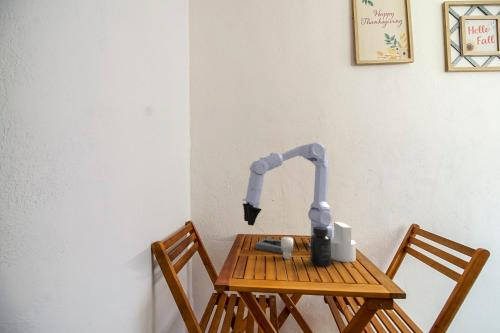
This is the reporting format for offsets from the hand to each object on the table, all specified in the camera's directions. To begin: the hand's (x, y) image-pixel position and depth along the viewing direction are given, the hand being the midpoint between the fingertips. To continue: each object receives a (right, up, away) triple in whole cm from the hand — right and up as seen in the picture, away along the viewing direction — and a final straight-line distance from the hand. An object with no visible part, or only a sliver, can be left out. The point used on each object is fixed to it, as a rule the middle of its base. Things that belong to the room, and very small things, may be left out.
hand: (248, 223), depth 90 cm
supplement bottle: (+25, -11, -13) cm, 30 cm away
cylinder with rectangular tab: (+35, -11, -7) cm, 37 cm away
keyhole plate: (+10, -11, +3) cm, 15 cm away
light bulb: (+14, -10, -9) cm, 20 cm away
